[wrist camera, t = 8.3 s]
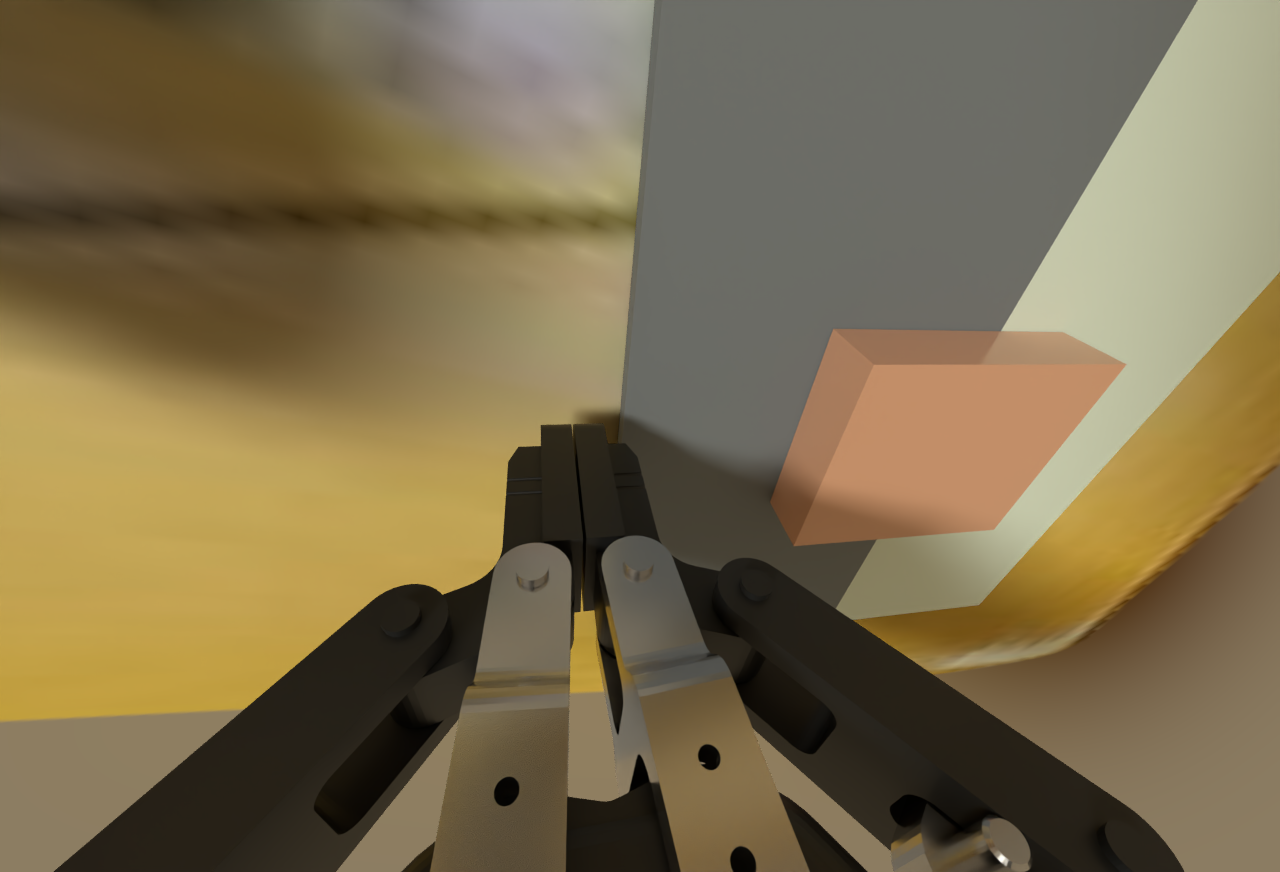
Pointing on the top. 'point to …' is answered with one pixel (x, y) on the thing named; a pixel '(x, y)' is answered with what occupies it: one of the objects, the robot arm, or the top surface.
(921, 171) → the mat
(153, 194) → the top surface
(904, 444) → the tile
